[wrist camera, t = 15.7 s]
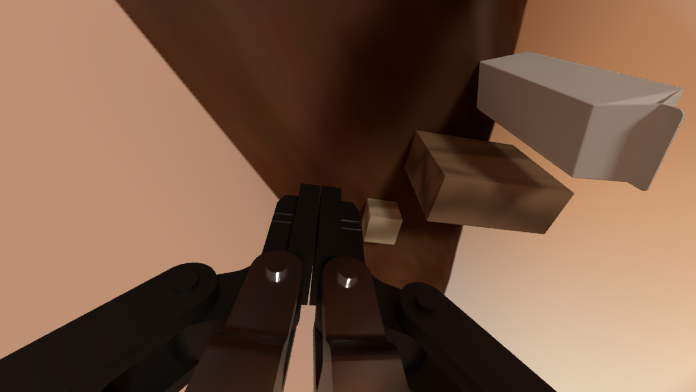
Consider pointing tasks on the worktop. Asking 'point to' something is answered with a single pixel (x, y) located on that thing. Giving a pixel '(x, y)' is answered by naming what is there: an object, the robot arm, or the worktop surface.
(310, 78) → the worktop surface
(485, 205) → the walnut panel
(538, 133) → the milk
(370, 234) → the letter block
